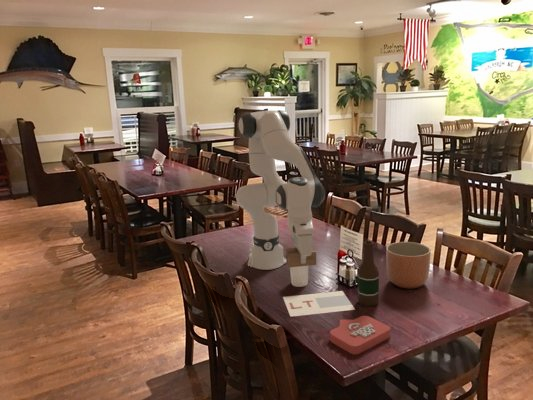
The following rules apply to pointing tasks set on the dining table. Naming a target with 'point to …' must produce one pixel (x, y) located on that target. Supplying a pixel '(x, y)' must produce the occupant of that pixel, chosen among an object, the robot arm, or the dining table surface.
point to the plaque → (359, 334)
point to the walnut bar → (294, 258)
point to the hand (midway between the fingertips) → (301, 259)
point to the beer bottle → (368, 278)
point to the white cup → (299, 276)
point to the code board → (317, 303)
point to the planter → (408, 264)
